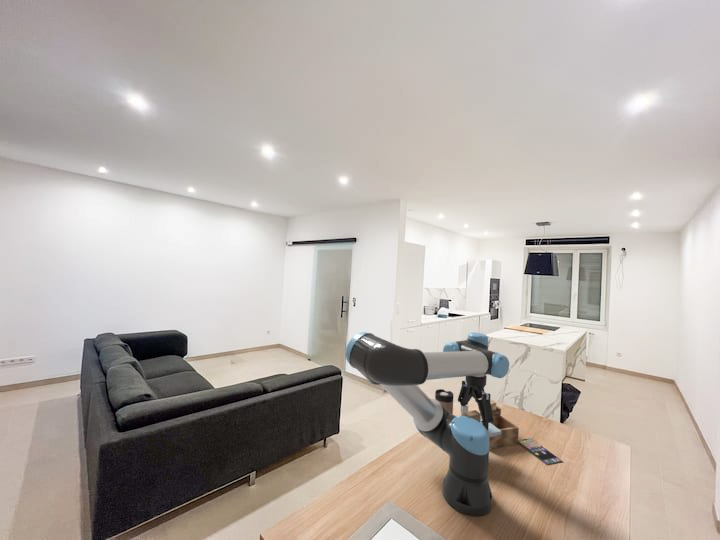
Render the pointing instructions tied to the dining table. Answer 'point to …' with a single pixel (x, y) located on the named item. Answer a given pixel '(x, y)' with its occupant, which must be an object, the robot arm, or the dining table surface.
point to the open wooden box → (503, 431)
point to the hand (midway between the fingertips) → (473, 429)
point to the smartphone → (539, 451)
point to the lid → (477, 416)
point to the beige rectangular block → (492, 405)
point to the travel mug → (445, 399)
